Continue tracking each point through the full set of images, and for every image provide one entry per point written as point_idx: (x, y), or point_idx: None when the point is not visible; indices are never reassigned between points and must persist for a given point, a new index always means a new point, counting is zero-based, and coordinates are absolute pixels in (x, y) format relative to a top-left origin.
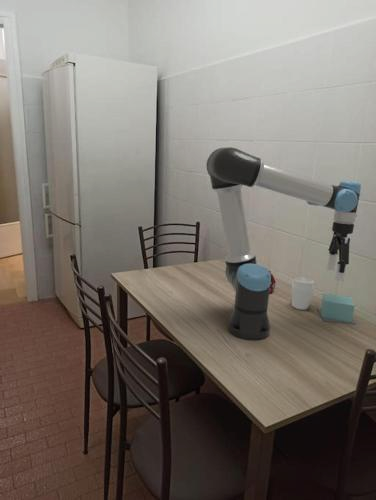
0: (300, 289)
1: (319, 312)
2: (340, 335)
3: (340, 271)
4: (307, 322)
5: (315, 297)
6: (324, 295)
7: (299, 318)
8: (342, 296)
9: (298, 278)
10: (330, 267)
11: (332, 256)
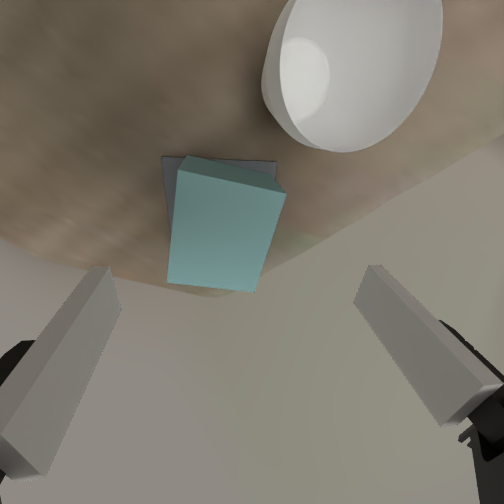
0: (274, 28)
1: (240, 160)
2: (52, 183)
3: (6, 357)
4: (121, 70)
5: (384, 185)
6: (259, 192)
7: (154, 36)
8: (260, 264)
9: (429, 46)
10: (373, 293)
11: (447, 385)
